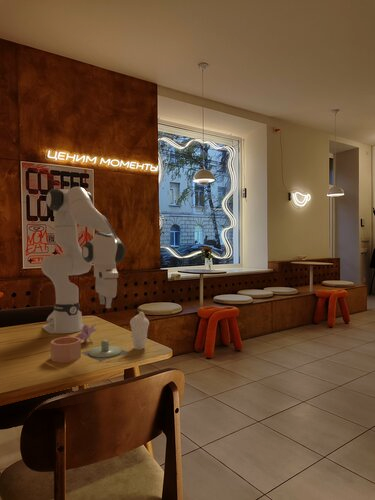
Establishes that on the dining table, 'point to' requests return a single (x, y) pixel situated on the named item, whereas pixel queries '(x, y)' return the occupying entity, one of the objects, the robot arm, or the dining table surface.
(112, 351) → the lid
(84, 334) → the lily
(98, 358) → the mat
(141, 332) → the soft serve ice cream cone
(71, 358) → the bowl
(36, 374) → the dining table surface
